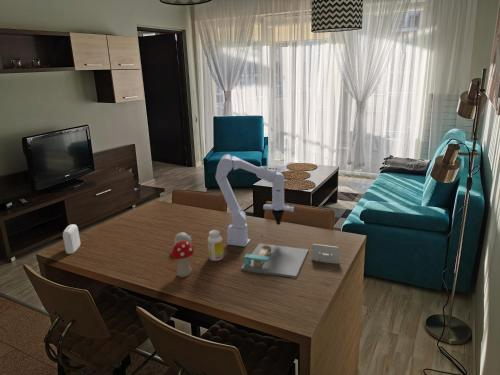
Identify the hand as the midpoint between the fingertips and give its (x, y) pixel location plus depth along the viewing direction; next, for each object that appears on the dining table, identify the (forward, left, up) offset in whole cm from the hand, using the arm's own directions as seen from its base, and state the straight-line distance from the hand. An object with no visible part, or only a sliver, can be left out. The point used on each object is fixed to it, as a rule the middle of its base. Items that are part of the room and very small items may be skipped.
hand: (278, 224), depth 189 cm
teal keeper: (-2, -27, -9) cm, 29 cm away
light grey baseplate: (+4, -19, -9) cm, 22 cm away
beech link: (-2, -20, -8) cm, 22 cm away
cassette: (+25, -14, -10) cm, 30 cm away
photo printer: (-95, -35, -10) cm, 102 cm away
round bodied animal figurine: (-42, -19, -10) cm, 47 cm away
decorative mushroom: (-30, -41, -10) cm, 52 cm away
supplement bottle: (-23, -24, -10) cm, 35 cm away
